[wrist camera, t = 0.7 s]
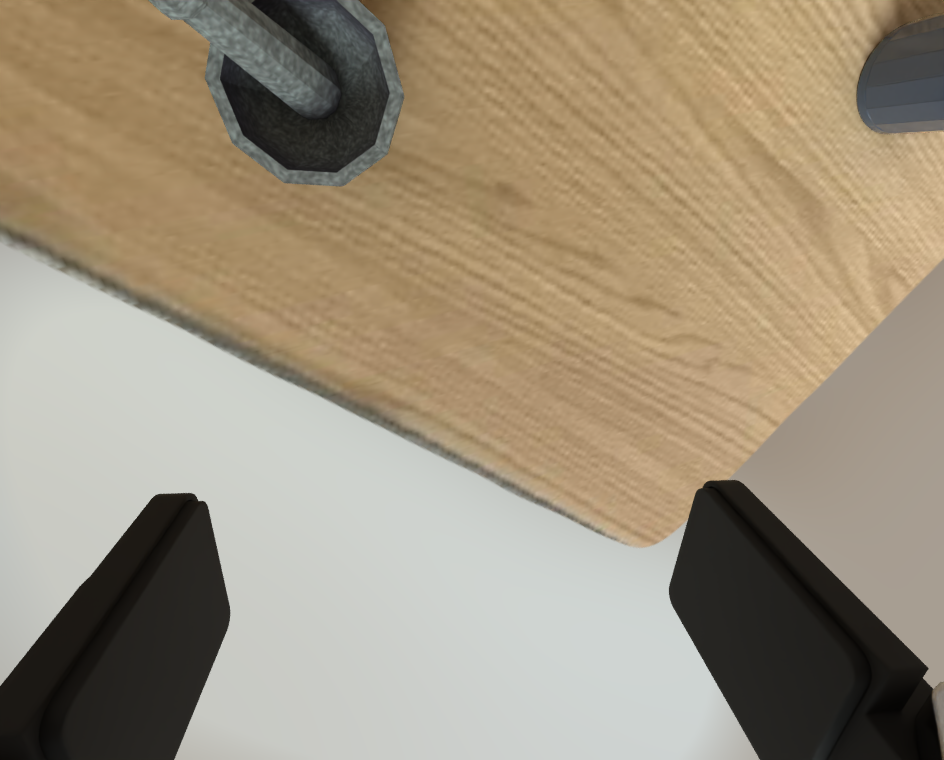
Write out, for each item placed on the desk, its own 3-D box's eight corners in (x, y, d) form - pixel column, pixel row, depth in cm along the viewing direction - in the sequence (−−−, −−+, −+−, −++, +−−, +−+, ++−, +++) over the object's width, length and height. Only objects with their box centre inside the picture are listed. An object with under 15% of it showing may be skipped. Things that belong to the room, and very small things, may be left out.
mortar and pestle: (435, 93, 32) (443, 58, 21) (352, 211, 34) (321, 236, 23) (279, -53, 28) (189, -190, 17) (199, 92, 30) (75, 54, 19)
